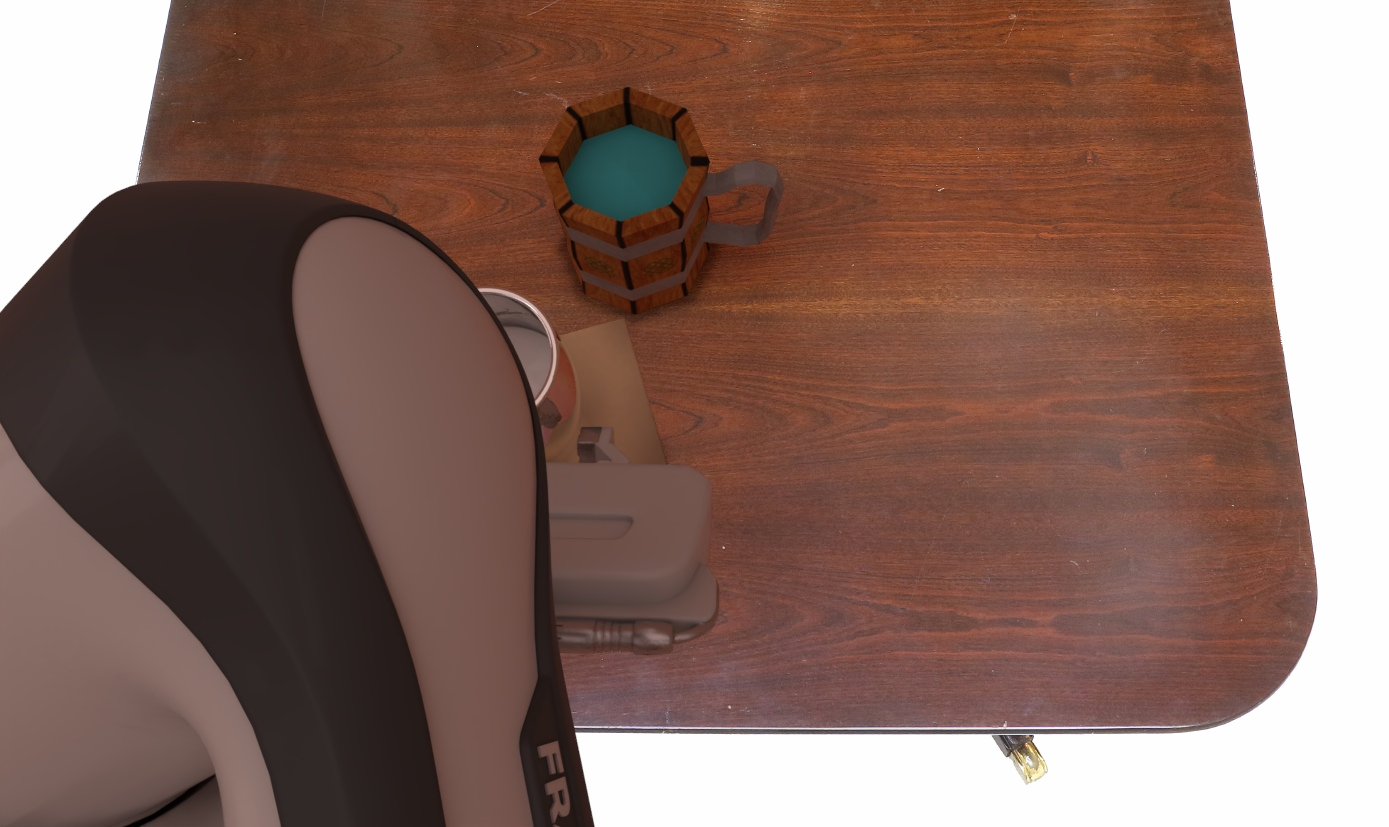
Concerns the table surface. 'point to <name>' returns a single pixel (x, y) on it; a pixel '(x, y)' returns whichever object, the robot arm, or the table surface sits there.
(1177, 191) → the table surface
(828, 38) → the table surface
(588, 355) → the square wooden board
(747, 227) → the mug
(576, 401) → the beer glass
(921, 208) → the table surface
